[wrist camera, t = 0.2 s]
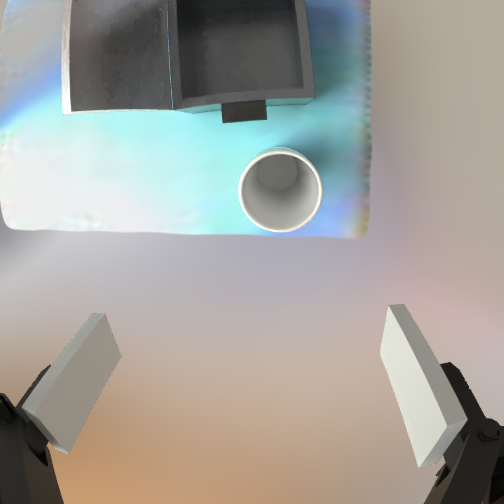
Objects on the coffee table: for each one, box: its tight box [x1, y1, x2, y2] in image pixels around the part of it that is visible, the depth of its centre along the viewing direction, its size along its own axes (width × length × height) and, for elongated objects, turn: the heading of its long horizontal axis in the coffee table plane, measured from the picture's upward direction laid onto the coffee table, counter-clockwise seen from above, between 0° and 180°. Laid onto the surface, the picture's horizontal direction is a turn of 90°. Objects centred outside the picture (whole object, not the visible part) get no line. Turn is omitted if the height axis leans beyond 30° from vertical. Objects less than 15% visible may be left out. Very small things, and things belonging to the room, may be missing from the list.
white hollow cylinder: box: [238, 147, 323, 232], centre depth 30 cm, size 7×7×15 cm
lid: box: [61, 0, 173, 115], centre depth 19 cm, size 14×14×3 cm
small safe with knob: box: [167, 0, 315, 123], centre depth 28 cm, size 18×14×8 cm
